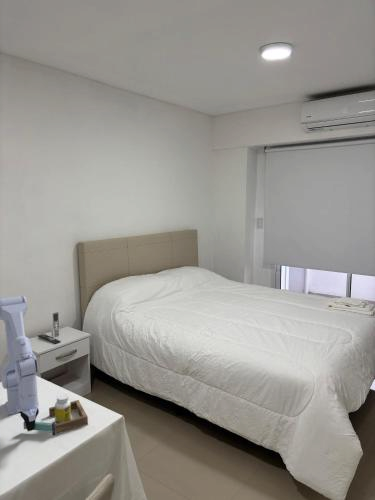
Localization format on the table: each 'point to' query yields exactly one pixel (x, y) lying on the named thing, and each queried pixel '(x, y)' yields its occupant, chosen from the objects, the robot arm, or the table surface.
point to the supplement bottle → (62, 409)
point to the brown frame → (70, 423)
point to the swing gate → (41, 426)
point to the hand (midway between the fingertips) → (30, 429)
